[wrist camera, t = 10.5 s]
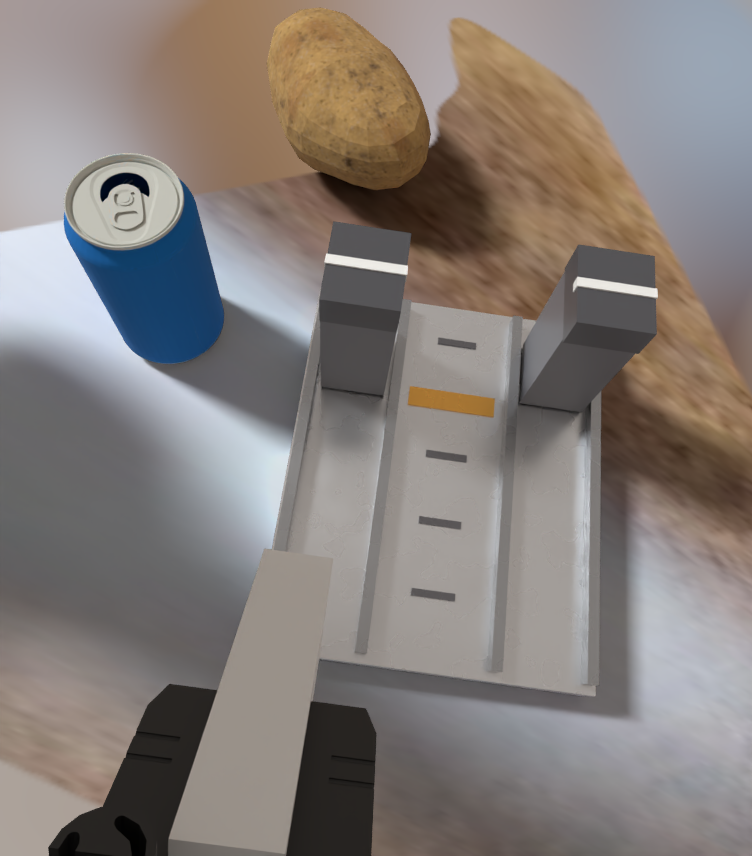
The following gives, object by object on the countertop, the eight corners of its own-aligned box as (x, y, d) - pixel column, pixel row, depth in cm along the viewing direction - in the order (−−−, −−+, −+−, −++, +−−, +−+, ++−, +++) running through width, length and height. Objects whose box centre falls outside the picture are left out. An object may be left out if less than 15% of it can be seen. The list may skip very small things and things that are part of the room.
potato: (343, 251, 47) (347, 168, 39) (242, 114, 51) (228, 15, 43) (457, 194, 49) (481, 105, 42) (352, 67, 53) (357, -34, 46)
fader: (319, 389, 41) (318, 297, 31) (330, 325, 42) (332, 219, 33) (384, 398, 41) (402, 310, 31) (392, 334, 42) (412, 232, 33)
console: (256, 650, 37) (251, 647, 34) (320, 305, 45) (320, 279, 42) (582, 696, 37) (603, 696, 35) (587, 345, 46) (604, 322, 43)
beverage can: (219, 275, 45) (185, 139, 34) (231, 361, 43) (200, 245, 32) (119, 288, 45) (51, 153, 33) (127, 376, 42) (56, 263, 31)
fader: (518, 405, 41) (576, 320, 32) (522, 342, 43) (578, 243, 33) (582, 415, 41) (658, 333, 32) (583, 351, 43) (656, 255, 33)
